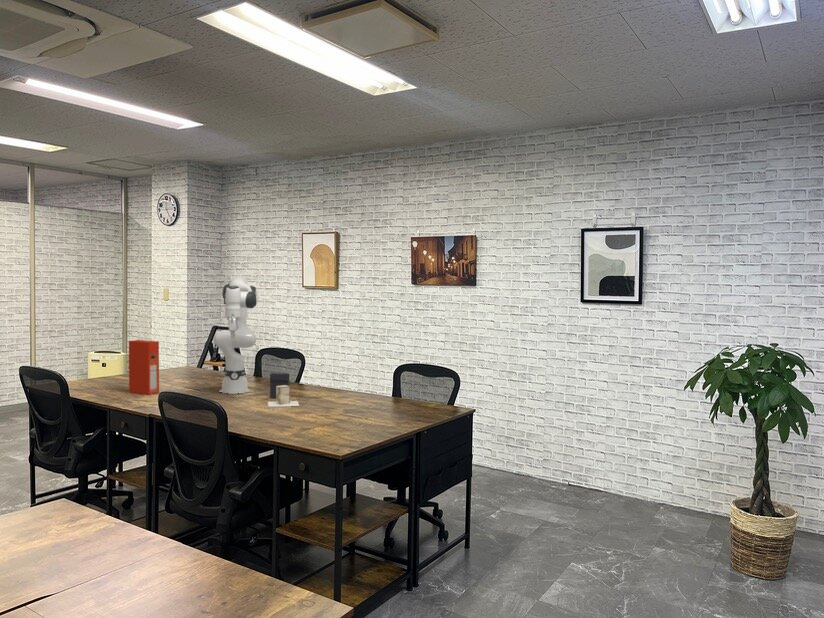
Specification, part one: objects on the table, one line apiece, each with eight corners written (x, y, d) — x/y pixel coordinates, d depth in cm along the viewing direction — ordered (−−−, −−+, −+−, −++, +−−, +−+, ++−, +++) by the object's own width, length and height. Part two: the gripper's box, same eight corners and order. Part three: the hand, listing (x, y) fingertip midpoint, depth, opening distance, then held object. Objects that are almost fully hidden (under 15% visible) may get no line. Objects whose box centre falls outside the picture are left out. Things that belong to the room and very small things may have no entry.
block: (276, 403, 363) (276, 386, 363) (285, 402, 367) (285, 385, 367) (280, 404, 360) (280, 387, 359) (290, 403, 364) (290, 386, 363)
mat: (267, 402, 368) (267, 401, 368) (297, 401, 372) (297, 400, 372) (268, 407, 355) (268, 406, 355) (299, 406, 359) (299, 405, 359)
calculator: (289, 397, 384) (289, 373, 384) (287, 399, 380) (287, 374, 379) (271, 397, 385) (272, 372, 385) (269, 398, 381) (269, 373, 380)
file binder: (148, 395, 384) (148, 342, 382) (128, 392, 392) (128, 340, 390) (159, 393, 391) (159, 341, 389) (139, 390, 399) (139, 339, 397)
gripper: (238, 315, 357) (237, 339, 358) (239, 313, 377) (239, 336, 378) (226, 315, 356) (226, 339, 356) (228, 313, 376) (228, 336, 376)
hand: (232, 338), depth 367 cm, fingers open, 8 cm apart
